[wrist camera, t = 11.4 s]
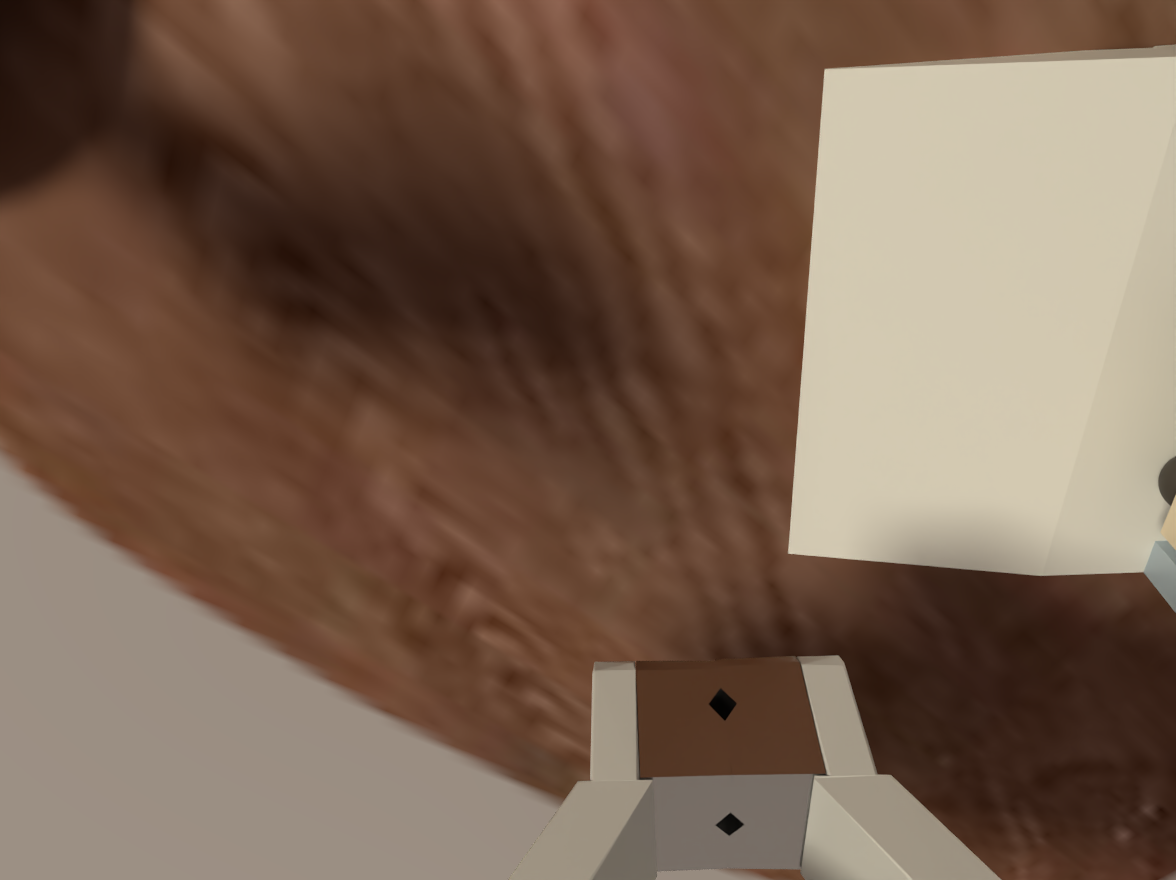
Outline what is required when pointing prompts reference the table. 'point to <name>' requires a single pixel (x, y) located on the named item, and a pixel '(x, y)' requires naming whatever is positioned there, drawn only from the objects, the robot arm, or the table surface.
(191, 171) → the table surface
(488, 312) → the table surface
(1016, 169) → the dock
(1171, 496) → the cart
